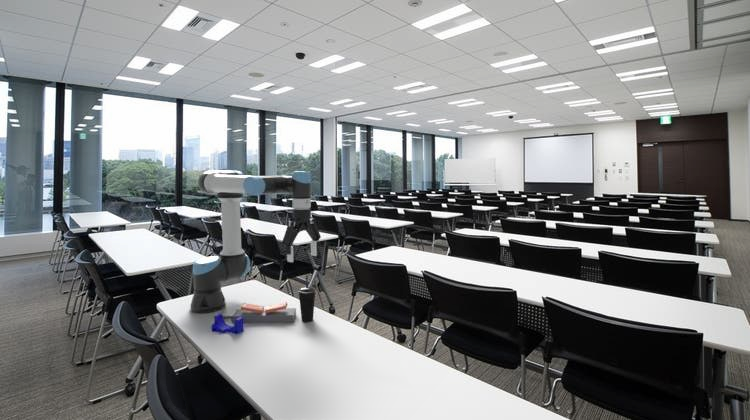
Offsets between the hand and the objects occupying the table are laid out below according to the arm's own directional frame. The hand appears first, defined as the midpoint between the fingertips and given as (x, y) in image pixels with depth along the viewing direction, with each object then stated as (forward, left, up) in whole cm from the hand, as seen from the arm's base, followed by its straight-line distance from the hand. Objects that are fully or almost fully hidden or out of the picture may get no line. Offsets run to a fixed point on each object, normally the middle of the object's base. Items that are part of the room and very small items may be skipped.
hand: (302, 258), depth 152 cm
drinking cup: (0, +3, -28) cm, 28 cm away
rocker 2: (-12, -4, -24) cm, 27 cm away
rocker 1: (-20, -11, -24) cm, 33 cm away
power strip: (-18, -9, -28) cm, 35 cm away
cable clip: (-19, -24, -28) cm, 41 cm away
